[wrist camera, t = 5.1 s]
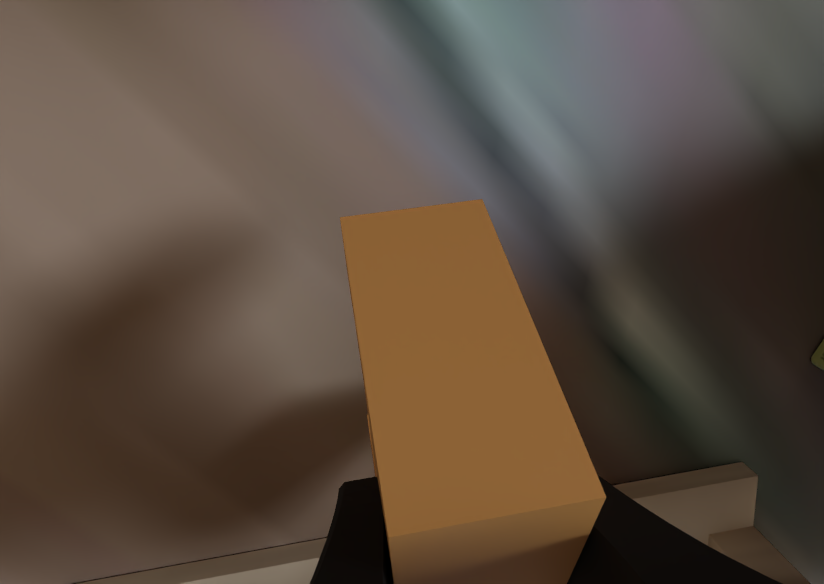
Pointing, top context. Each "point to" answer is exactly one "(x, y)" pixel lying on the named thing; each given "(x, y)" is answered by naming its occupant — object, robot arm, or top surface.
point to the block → (463, 405)
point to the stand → (664, 496)
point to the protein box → (819, 356)
